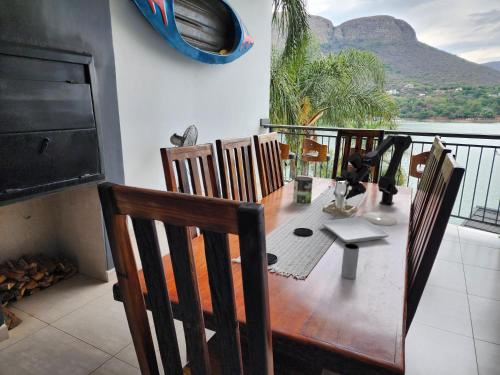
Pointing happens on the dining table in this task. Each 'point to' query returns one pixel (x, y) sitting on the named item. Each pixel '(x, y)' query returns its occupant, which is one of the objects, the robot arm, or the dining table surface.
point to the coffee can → (302, 190)
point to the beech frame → (344, 213)
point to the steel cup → (341, 195)
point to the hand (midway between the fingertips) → (339, 196)
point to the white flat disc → (379, 218)
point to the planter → (350, 260)
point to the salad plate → (354, 229)
